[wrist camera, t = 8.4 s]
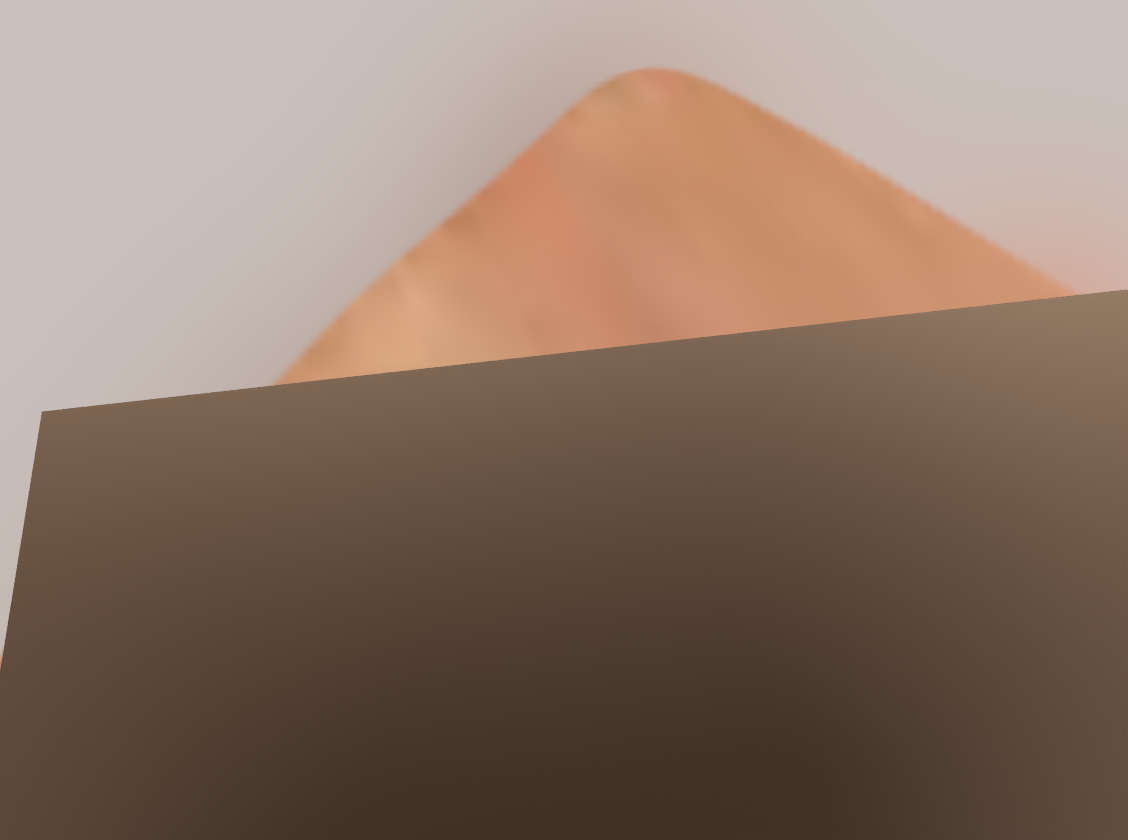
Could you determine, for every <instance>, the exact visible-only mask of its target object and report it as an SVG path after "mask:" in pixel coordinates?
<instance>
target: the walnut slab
mask: <svg viewBox="0 0 1128 840" xmlns="http://www.w3.org/2000/svg"><path fill="white" fill-rule="evenodd" d="M0 840H1128V290H1119V291H1110V292H1102V293H1093V294H1084V295H1075V296H1066V297H1057V298H1048V299H1039V300H1030V301H1021V302H1013V303H1004V304H995V305H986V306H977V307H968V308H959V309H950V310H941V311H933V312H924V313H915V314H906V315H897V316H888V317H879V318H870V319H861V320H853V321H844V322H835V323H826V324H817V325H808V326H799V327H790V328H782V329H773V330H764V331H755V332H746V333H737V334H728V335H719V336H710V337H702V338H693V339H684V340H675V341H666V342H657V343H648V344H639V345H630V346H622V347H613V348H604V349H595V350H586V351H577V352H568V353H559V354H550V355H542V356H533V357H524V358H515V359H506V360H497V361H488V362H479V363H470V364H462V365H453V366H444V367H435V368H426V369H417V370H408V371H399V372H390V373H382V374H373V375H364V376H355V377H346V378H337V379H328V380H319V381H310V382H302V383H293V384H284V385H275V386H266V387H257V388H248V389H239V390H230V391H222V392H213V393H204V394H195V395H186V396H178V397H168V398H159V399H151V400H143V401H133V402H124V403H115V404H106V405H97V406H88V407H79V408H70V409H62V410H53V411H44V412H42V415H41V422H40V428H39V434H38V440H37V446H36V452H35V459H34V465H33V471H32V478H31V483H30V490H29V496H28V502H27V508H26V515H25V521H24V527H23V534H22V539H21V546H20V552H19V558H18V565H17V570H16V577H15V583H14V589H13V595H12V602H11V608H10V614H9V620H8V627H7V633H6V639H5V645H4V651H3V657H2V664H1V670H0Z"/></svg>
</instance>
